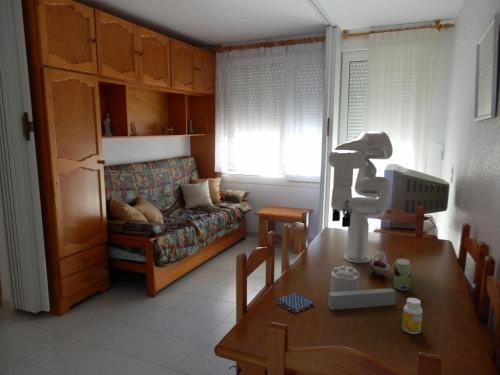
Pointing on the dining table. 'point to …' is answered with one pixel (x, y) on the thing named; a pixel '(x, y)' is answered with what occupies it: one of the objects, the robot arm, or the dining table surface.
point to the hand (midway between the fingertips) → (340, 223)
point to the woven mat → (295, 302)
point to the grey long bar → (361, 298)
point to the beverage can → (402, 274)
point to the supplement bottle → (412, 316)
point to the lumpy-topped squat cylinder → (344, 279)
